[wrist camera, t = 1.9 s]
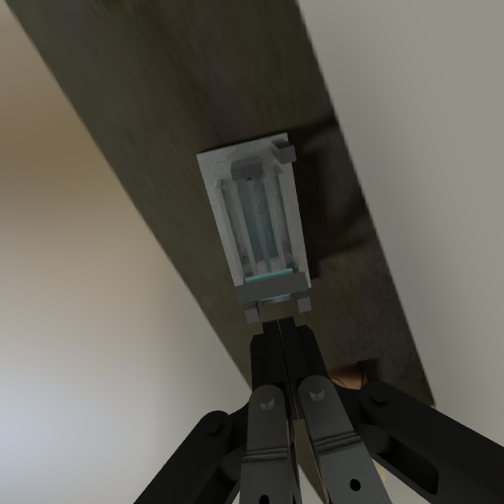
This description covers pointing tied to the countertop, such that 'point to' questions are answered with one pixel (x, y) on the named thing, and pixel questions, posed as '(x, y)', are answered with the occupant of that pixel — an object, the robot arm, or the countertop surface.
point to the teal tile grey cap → (271, 287)
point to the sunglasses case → (349, 375)
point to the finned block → (257, 210)
